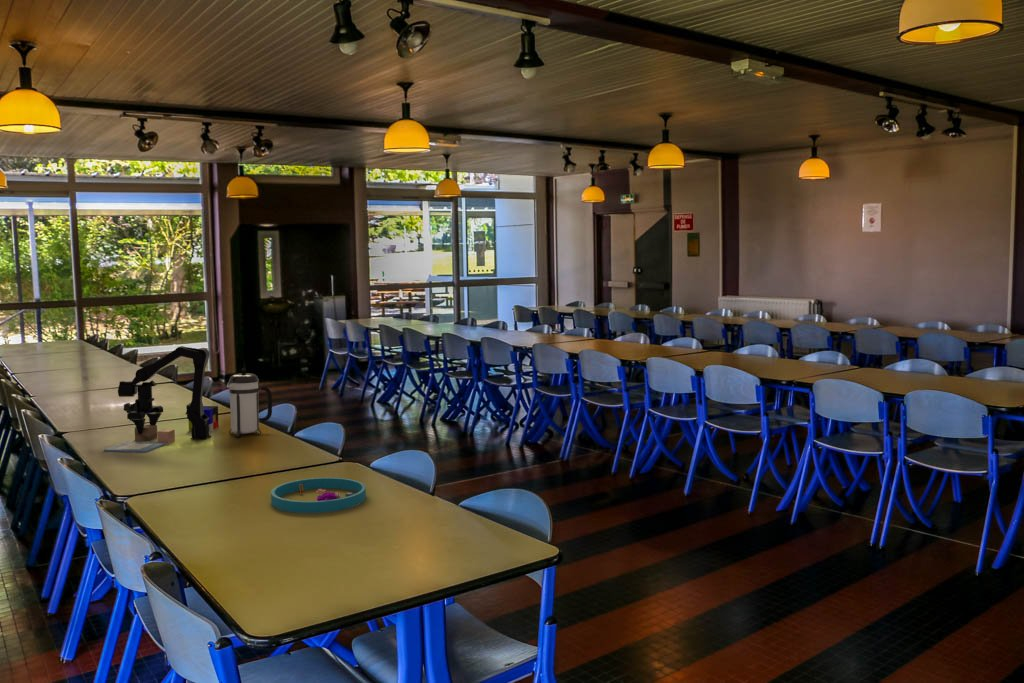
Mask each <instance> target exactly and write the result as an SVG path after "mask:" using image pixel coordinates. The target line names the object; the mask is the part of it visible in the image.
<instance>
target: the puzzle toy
mask: <svg viewBox="0 0 1024 683" xmlns="http://www.w3.org/2000/svg"><path fill="white" fill-rule="evenodd" d="M203 408H204V414H205V415H207V416H208V417H209V421H208V423H207V424H209V432H211V431H213V429H214V430H215V428H216V429H218V428H219V426H220V425H219V406H218V405H203ZM217 427H218V428H217ZM191 428H192V423H191V421H189V420H188V432H191Z"/></svg>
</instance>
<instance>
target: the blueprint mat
mask: <svg viewBox="0 0 1024 683" xmlns="http://www.w3.org/2000/svg"><path fill="white" fill-rule="evenodd" d="M167 444H168V443H165V442H158V441H135V440H134V441H132V440H131V441H130V440H127V441H124V442H121V443H118V444H115V445H112V446H110V447H107V448H104V449H103V451H104V452H111V453H117V452H118V453H139V454H142V453H144V454H146V453H149V452H152V451H154V450H156V449H158V448H161V447H164V446H166V445H167Z"/></svg>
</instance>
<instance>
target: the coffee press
mask: <svg viewBox="0 0 1024 683" xmlns="http://www.w3.org/2000/svg"><path fill="white" fill-rule="evenodd" d="M240 372H241V373H236V374H232V375H231V376H230V377H229V380H228V382H227V385H226V388H228V389H229V392H228V393H229V404H230V405H229V406H230V409H229V410H230V430H229V431H228V434H229V435H232V434H236V435H235V436H236V438H241V436H242V435H243V434H250V433H251V434H252V433H255V434H256V435H257V436H259V435H258V434H260V435H262V434H263V432H262V431H261V429H260V423H262V422H267V421H269V419H270V418H271V417H272V414H273V396H272V392H271V390H270V389H269V387H267V386H259V382H260V379H259V378H258V375H256V374H254V373H249V372H247V369H246V368H245V367H243V368H241V370H240ZM246 372H247V373H246ZM259 391H264V392H265V393H266V395H267V413H266V415H265V416H264V417H259V416H260V415H259V409H260V407H259V406H260V405H259Z"/></svg>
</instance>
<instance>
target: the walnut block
mask: <svg viewBox="0 0 1024 683" xmlns="http://www.w3.org/2000/svg"><path fill="white" fill-rule="evenodd" d="M157 432H158V425H157V424H156V425H150V424H144V427H143V431H142V434H139V433H138V431H137V428H136V426H134V442H153V441H154V440H158V435H157Z"/></svg>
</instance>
